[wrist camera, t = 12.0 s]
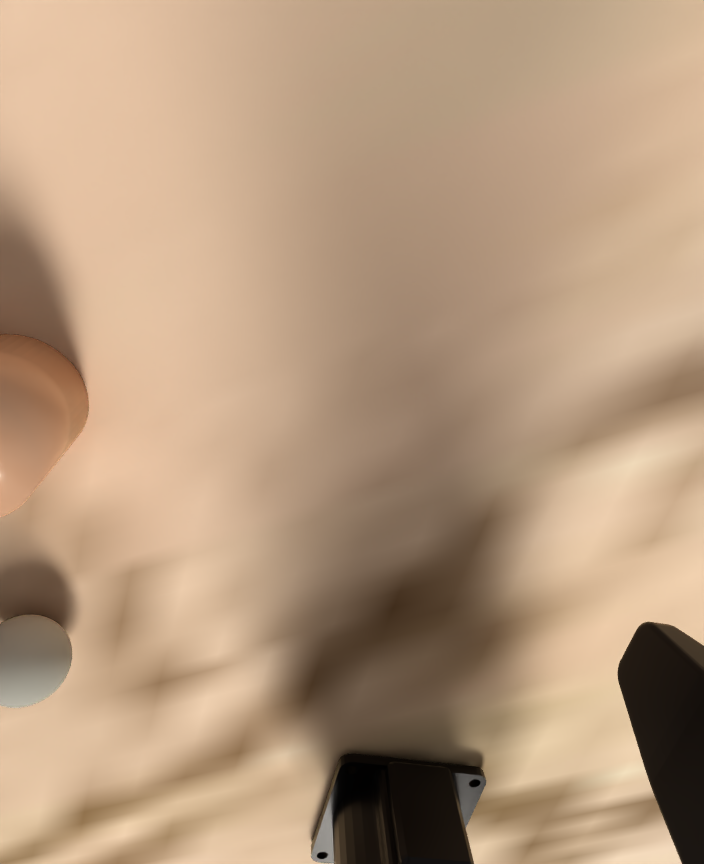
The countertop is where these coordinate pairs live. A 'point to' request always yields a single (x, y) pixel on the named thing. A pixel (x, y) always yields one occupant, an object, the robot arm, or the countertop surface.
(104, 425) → the countertop surface
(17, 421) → the peach rounded capsule
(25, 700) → the grey ball
